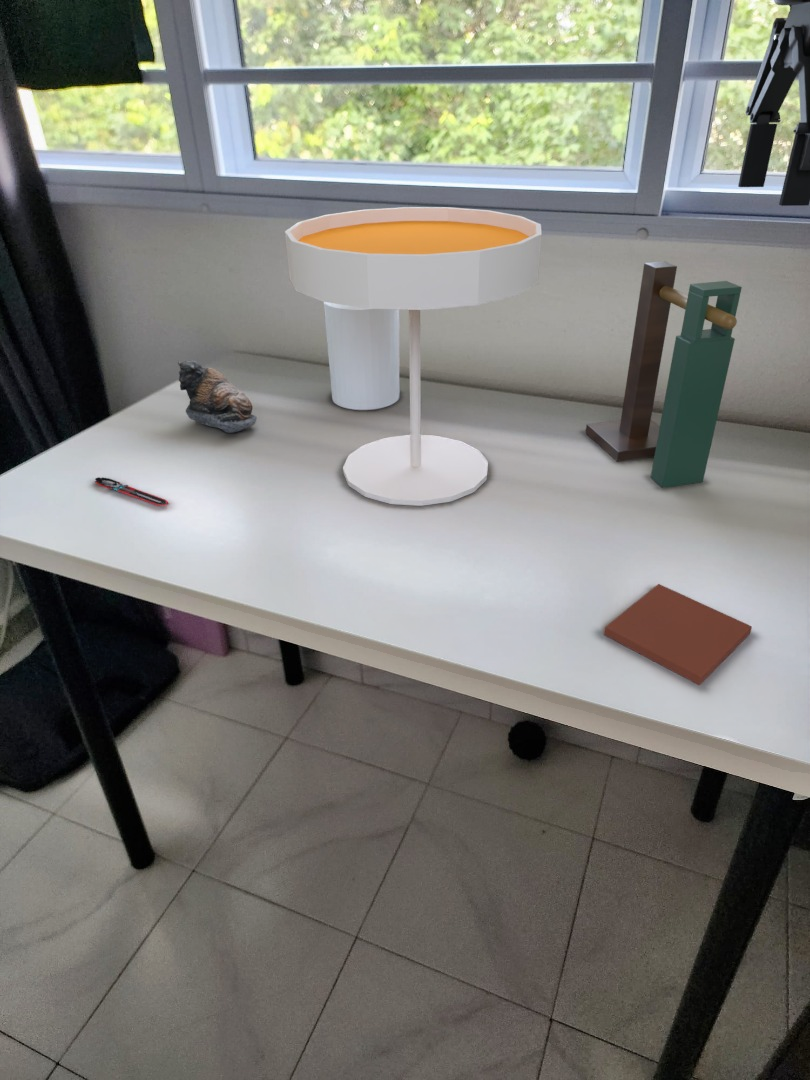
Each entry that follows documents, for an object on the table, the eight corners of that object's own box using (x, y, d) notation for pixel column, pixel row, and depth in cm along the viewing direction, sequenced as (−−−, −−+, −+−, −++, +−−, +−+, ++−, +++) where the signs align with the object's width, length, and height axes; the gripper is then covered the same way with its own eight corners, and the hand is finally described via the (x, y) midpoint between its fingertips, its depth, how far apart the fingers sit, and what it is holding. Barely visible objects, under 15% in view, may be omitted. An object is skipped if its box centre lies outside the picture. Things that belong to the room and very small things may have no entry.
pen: (162, 510, 95) (161, 505, 94) (90, 483, 101) (89, 479, 101) (174, 503, 96) (173, 499, 96) (102, 477, 102) (100, 473, 102)
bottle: (396, 411, 120) (392, 248, 107) (323, 409, 122) (310, 247, 108) (405, 385, 130) (402, 232, 117) (338, 383, 132) (328, 231, 118)
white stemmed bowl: (568, 491, 97) (598, 236, 80) (358, 548, 86) (342, 268, 70) (456, 412, 120) (461, 200, 103) (279, 450, 109) (252, 220, 92)
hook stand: (730, 490, 97) (778, 293, 83) (660, 501, 95) (698, 300, 81) (645, 425, 114) (674, 253, 101) (585, 432, 112) (606, 258, 99)
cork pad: (750, 634, 73) (752, 626, 72) (699, 685, 67) (701, 677, 66) (657, 591, 79) (658, 583, 78) (603, 634, 73) (604, 626, 72)
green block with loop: (703, 482, 99) (746, 286, 85) (662, 488, 98) (699, 290, 84) (690, 472, 101) (731, 280, 88) (650, 477, 100) (685, 284, 86)
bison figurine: (265, 424, 117) (257, 362, 111) (239, 442, 111) (229, 378, 106) (203, 413, 121) (192, 352, 116) (174, 430, 116) (162, 367, 110)
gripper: (743, -32, 82) (705, 180, 94) (840, -65, 61) (775, 214, 73) (813, -34, 82) (766, 180, 93) (935, -68, 61) (855, 214, 72)
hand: (770, 195), depth 83 cm, fingers open, 13 cm apart
